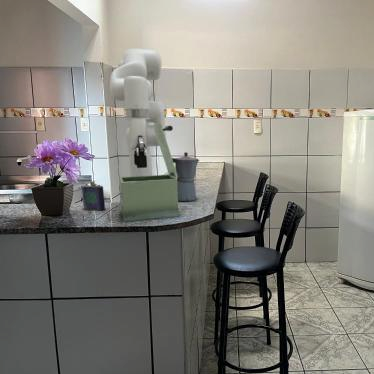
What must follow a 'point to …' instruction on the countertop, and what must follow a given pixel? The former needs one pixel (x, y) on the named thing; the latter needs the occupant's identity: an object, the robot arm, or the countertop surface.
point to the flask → (93, 197)
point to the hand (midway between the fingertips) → (140, 166)
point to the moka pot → (185, 177)
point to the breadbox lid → (165, 148)
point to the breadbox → (148, 197)
